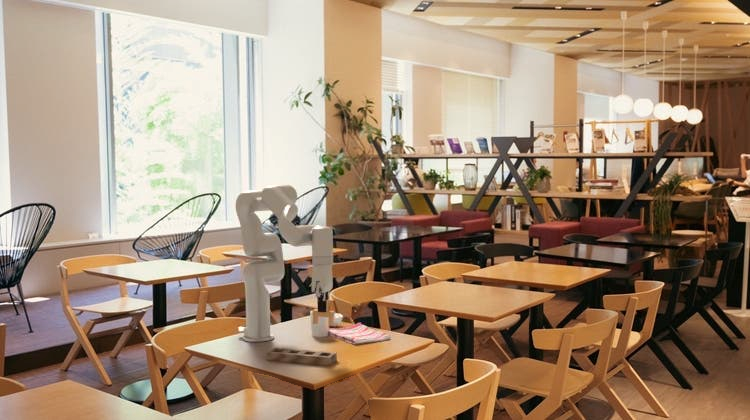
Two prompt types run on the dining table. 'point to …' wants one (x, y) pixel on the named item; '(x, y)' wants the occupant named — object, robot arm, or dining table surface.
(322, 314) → the clip
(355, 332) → the dish towel
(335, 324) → the white bowl
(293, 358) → the wooden compartment tray
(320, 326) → the white cup
